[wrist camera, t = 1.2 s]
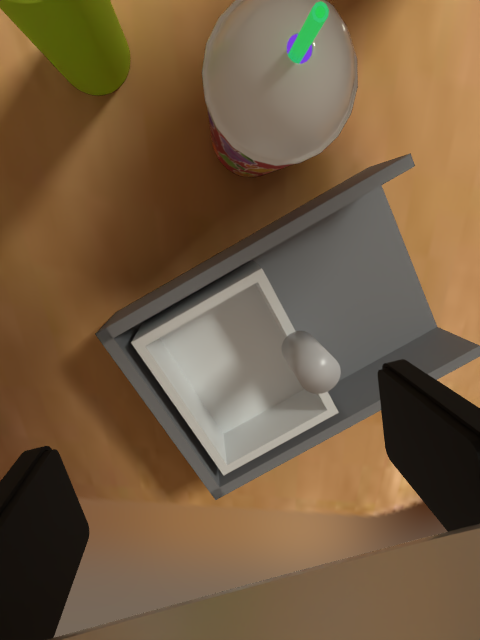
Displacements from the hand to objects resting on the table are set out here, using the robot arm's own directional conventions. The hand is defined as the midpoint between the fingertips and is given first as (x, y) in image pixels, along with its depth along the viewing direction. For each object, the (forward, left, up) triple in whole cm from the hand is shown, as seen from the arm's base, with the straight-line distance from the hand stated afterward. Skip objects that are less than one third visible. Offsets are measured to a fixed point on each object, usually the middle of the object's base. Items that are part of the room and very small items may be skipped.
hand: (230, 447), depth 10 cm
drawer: (+1, +7, -25) cm, 26 cm away
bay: (-5, +7, -26) cm, 27 cm away
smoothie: (-10, -10, -26) cm, 30 cm away
